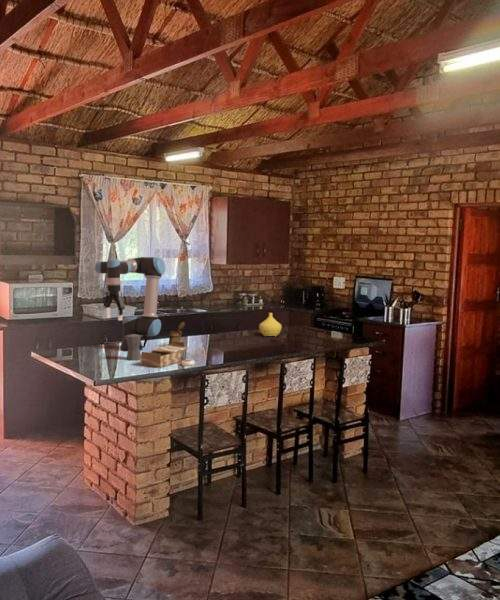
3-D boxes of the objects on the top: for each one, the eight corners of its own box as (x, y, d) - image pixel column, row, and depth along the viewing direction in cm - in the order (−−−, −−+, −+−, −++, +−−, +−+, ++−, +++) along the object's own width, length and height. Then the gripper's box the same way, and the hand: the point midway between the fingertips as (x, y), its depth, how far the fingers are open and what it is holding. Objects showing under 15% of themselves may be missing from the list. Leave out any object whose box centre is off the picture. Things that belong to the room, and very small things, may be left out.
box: (160, 359, 354) (160, 346, 353) (180, 362, 347) (180, 349, 346) (140, 365, 336) (140, 351, 336) (160, 368, 330) (160, 354, 329)
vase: (270, 333, 472) (271, 311, 470) (285, 336, 458) (286, 313, 456) (254, 335, 460) (254, 312, 458) (269, 338, 446) (269, 314, 444)
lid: (170, 346, 362) (170, 340, 362) (188, 348, 356) (188, 342, 355) (152, 350, 345) (152, 344, 345) (171, 352, 339) (171, 347, 338)
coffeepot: (121, 360, 350) (121, 332, 348) (125, 357, 359) (125, 329, 358) (146, 360, 350) (146, 332, 348) (149, 357, 359) (149, 330, 358)
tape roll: (186, 363, 345) (186, 359, 345) (197, 364, 341) (197, 360, 341) (178, 365, 338) (178, 361, 338) (189, 366, 334) (189, 362, 334)
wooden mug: (188, 346, 403) (188, 321, 401) (172, 348, 394) (172, 323, 392) (180, 344, 409) (180, 320, 408) (165, 347, 400) (165, 322, 398)
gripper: (97, 283, 345) (98, 317, 347) (119, 286, 327) (119, 321, 330) (108, 283, 350) (108, 316, 352) (130, 285, 333) (130, 320, 335)
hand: (114, 319), depth 341 cm, fingers open, 13 cm apart
